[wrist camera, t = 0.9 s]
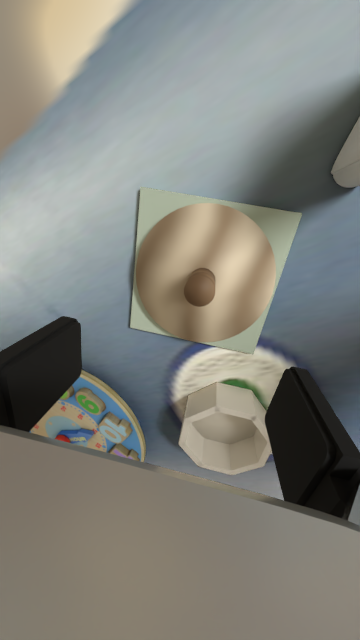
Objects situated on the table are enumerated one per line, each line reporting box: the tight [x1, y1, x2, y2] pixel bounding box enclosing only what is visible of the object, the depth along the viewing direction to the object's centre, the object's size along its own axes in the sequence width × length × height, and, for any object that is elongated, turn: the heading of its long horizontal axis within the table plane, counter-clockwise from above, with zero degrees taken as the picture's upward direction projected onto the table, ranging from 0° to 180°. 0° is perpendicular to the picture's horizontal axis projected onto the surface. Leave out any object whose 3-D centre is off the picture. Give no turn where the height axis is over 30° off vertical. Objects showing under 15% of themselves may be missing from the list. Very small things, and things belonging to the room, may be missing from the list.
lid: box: [136, 203, 276, 342], centre depth 25 cm, size 17×17×6 cm
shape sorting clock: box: [30, 370, 146, 462], centre depth 41 cm, size 31×30×6 cm
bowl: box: [179, 382, 272, 475], centre depth 34 cm, size 13×13×5 cm
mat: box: [130, 187, 302, 354], centre depth 28 cm, size 18×18×1 cm
